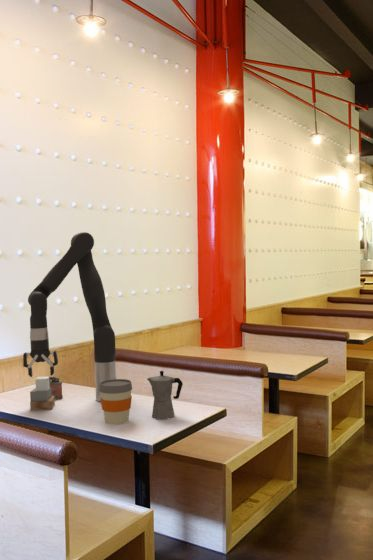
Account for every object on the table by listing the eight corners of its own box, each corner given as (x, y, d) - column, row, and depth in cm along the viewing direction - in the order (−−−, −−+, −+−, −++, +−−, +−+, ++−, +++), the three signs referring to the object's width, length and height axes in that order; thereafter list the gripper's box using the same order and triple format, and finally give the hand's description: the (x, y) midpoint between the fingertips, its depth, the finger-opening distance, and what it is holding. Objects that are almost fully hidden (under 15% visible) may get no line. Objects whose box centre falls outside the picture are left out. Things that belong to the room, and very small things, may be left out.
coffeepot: (142, 418, 219) (141, 372, 218) (153, 411, 228) (152, 367, 227) (178, 421, 213) (176, 374, 212) (188, 414, 221) (187, 369, 221)
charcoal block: (51, 396, 243) (51, 387, 243) (46, 400, 236) (46, 391, 236) (36, 397, 244) (35, 387, 244) (30, 401, 237) (30, 391, 237)
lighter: (63, 397, 257) (62, 375, 256) (61, 399, 254) (60, 377, 253) (46, 397, 258) (45, 375, 257) (44, 399, 254) (43, 377, 254)
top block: (49, 387, 243) (49, 376, 243) (47, 390, 238) (47, 378, 238) (38, 388, 243) (37, 376, 243) (35, 391, 238) (35, 379, 238)
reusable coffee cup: (127, 426, 209) (126, 386, 208) (95, 425, 211) (94, 386, 211) (137, 416, 221) (136, 379, 220) (107, 415, 224) (105, 378, 223)
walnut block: (54, 404, 246) (54, 395, 245) (52, 410, 237) (51, 400, 236) (33, 405, 245) (33, 396, 244) (30, 411, 236) (30, 402, 235)
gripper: (57, 336, 244) (59, 373, 244) (23, 338, 242) (25, 375, 243) (55, 338, 236) (57, 376, 237) (20, 340, 235) (22, 378, 235)
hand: (41, 375), depth 240 cm, fingers open, 8 cm apart
